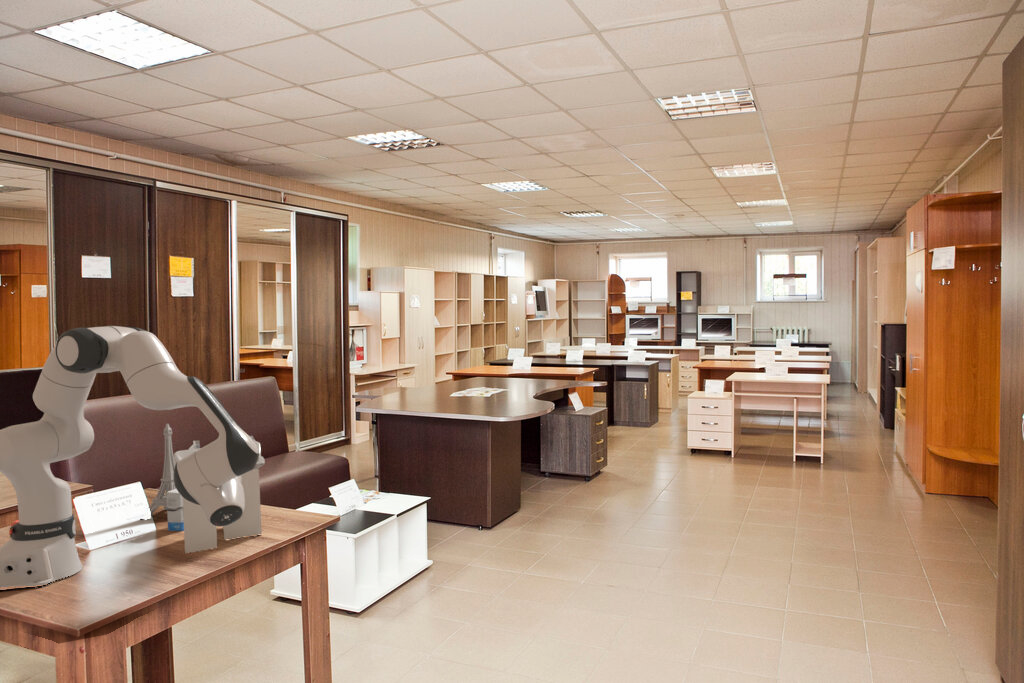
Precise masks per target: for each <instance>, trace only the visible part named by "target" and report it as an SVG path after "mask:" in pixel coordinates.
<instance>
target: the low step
mask: <svg viewBox="0 0 1024 683" xmlns="http://www.w3.org/2000/svg"><path fill="white" fill-rule="evenodd" d="M182 498H183V519H184V530H183V534H184V535H183V538H184V554H190V552H191V553H196V551H198V552H202V551H201V550H204V551H207V550H206V549H211V548H216V547H217V548H218V537H217V536H218V535H217V534H218V533H217V526H214V525H212V524H211V523H210V522H209V521H208V519H207V517H206V514H205V512H204V510H203V508H202V507H201V505H197V504H195V503H192V502H190V501H188V500H186V499H185V498H184V497H182ZM211 550H212V549H211Z"/></svg>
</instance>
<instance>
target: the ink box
mask: <svg viewBox="0 0 1024 683" xmlns="http://www.w3.org/2000/svg"><path fill="white" fill-rule="evenodd" d="M165 494H167V511H166V513H167V531H170V532H172V531H173V532H174V531H175V532H182V531H183V532H184V519H183V498H182V496H181V494H180V493H179V492H178V490H177V489H176V488H175V489H174V490H171V491H168V492H167V493H166V492H165Z"/></svg>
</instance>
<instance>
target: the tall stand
mask: <svg viewBox="0 0 1024 683" xmlns="http://www.w3.org/2000/svg"><path fill="white" fill-rule="evenodd" d="M254 440H255V438H254ZM255 441H256V440H255ZM241 478H242V481H241V484H242V486H243V489H244V497H245V508H244V512H243V515H242V516H241V518H240V519H238V520H237V521H235V522H233V523H232V524H229V525H227V526H222V530H223V537H224V538H223V539H224V540H226V539H232V538H237V537H243V536H251V535H258V534H262V512H261V488H260V468H259V469H253V470H251V471H249V472H246V473H244V474H242V475H241Z"/></svg>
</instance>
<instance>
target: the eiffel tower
mask: <svg viewBox="0 0 1024 683" xmlns="http://www.w3.org/2000/svg"><path fill="white" fill-rule="evenodd" d="M162 435H164V462H163V470H162V478H160V481H161V483H160V486H159V489H158V491H157V493H156V496H155V498H151V501H152V503H151V504H150V505H149V507H148V508H150V511H151V514H152V515H153V514H154V512H155V511H156V510H157V509H158V508H159V507H163V509H162V511H164V510H167V494H166V493H167V492H168V491H171V490H174V489H176V486H175V483H174V478H173V475H174V468H175V465H174V451H173V449H174V448H173V442H172V435H173V429H172V427H170V423H166V424H165V427H164V428H163V433H162Z"/></svg>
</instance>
